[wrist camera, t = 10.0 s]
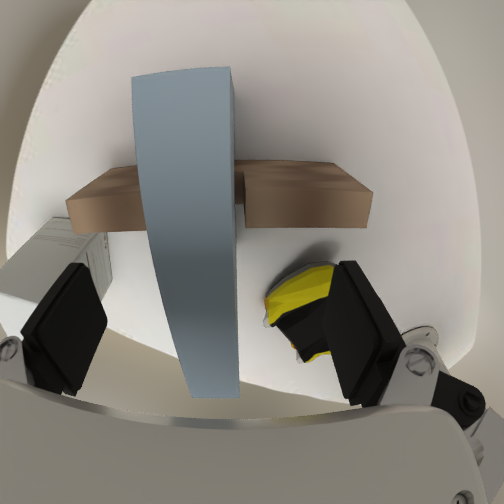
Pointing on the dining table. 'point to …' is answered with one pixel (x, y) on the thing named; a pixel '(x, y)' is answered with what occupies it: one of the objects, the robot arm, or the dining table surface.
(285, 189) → the walnut slotted plate
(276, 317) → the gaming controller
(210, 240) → the slate slotted plate
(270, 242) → the dining table surface
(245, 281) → the dining table surface
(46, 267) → the supplement box
